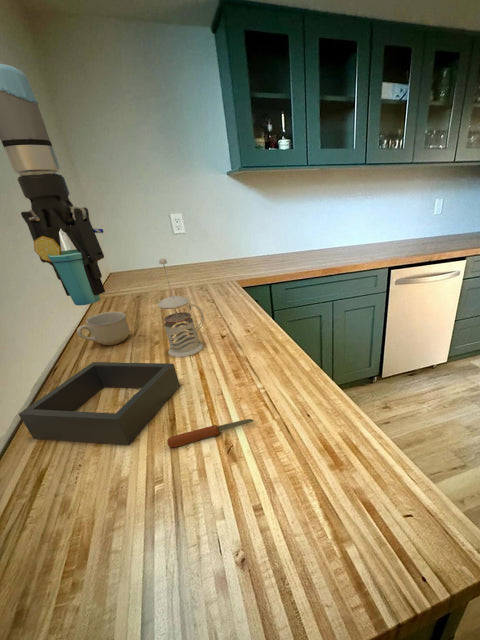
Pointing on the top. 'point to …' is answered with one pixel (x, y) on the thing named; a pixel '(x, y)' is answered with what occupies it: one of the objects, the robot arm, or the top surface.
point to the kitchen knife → (202, 433)
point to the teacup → (106, 328)
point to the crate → (108, 428)
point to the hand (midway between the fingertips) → (86, 293)
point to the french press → (185, 342)
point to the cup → (68, 269)
